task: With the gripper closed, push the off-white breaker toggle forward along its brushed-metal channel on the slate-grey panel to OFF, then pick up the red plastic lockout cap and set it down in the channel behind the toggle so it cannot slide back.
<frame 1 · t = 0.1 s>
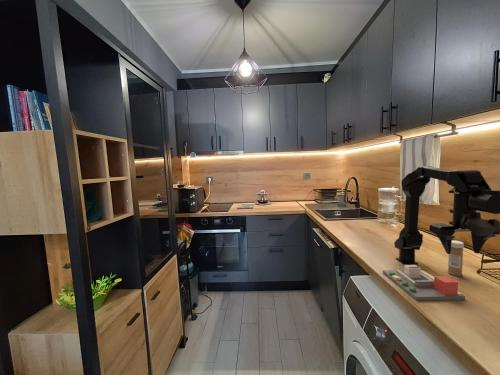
hand: (462, 253, 78), 15 cm above the counter, fingers open, 9 cm apart
lockout cap: (445, 291, 80), point 1 cm above the counter, touching breaker panel
sprinkles bottle: (454, 274, 94), on the counter
breaker panel: (419, 284, 87), on the counter
breaker toggle: (412, 271, 90), point 3 cm above the counter, slide at 0.0 cm
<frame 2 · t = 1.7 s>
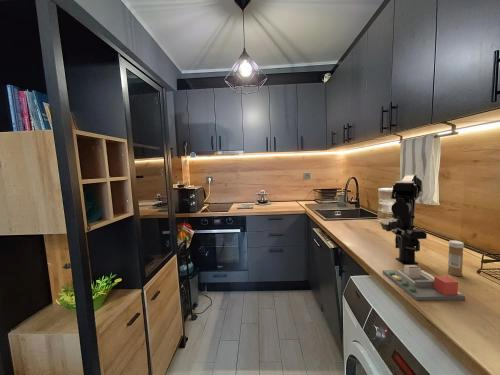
hand: (402, 249, 96), 10 cm above the counter, fingers closed
nothing on the counter moved.
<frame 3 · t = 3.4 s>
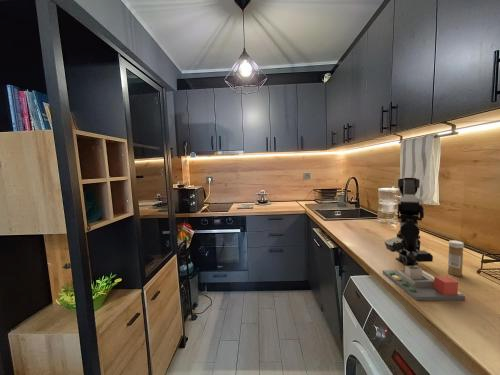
hand: (407, 270, 93), 3 cm above the counter, fingers closed
breaker toggle: (413, 272, 90), point 3 cm above the counter, slide at 0.6 cm, touching gripper
everything else where it was.
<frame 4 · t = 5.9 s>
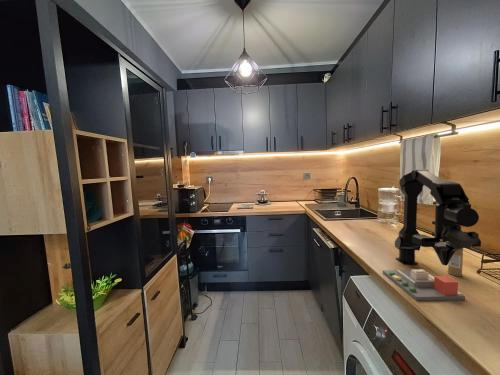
hand: (444, 264, 79), 10 cm above the counter, fingers closed
breaker toggle: (419, 276, 86), point 3 cm above the counter, slide at 4.0 cm
everything else where it was.
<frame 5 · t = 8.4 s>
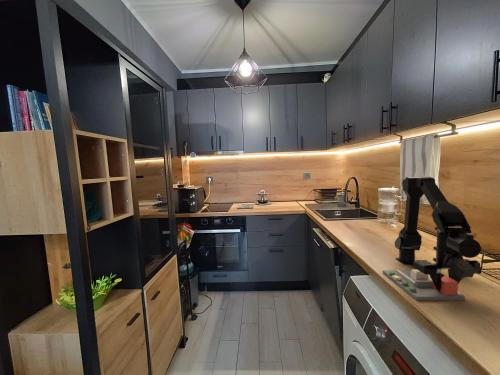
hand: (445, 290, 80), 2 cm above the counter, fingers closed on lockout cap, 4 cm apart
lockout cap: (445, 291, 80), point 1 cm above the counter, touching breaker panel, gripper
everything else where it was.
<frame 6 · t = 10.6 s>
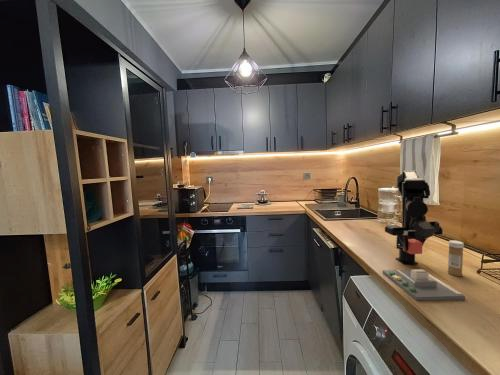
hand: (412, 251, 90), 11 cm above the counter, fingers closed on lockout cap, 4 cm apart
lockout cap: (412, 251, 90), point 11 cm above the counter, touching gripper
everything else where it was.
when the fingers open (3 cm above the counter, at t = 12.8 s): lockout cap drops 2 cm, resting on breaker panel.
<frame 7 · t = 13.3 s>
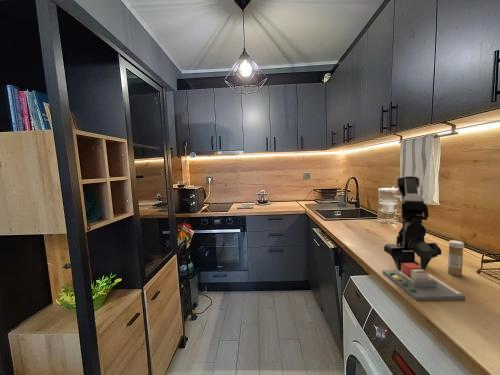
hand: (411, 270, 91), 3 cm above the counter, fingers open, 9 cm apart
lockout cap: (411, 276, 91), point 1 cm above the counter, touching breaker panel
everything else where it was.
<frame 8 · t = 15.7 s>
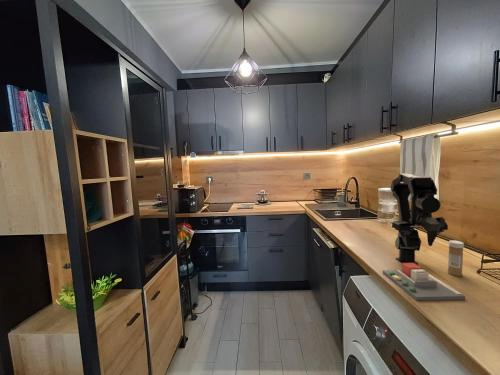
hand: (418, 246, 94), 12 cm above the counter, fingers open, 9 cm apart
nothing on the counter moved.
at the end: breaker toggle slide at 4.0 cm; lockout cap 0.0 cm from the target spot, point 1.2 cm above the counter; lockout cap tilted 0° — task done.
